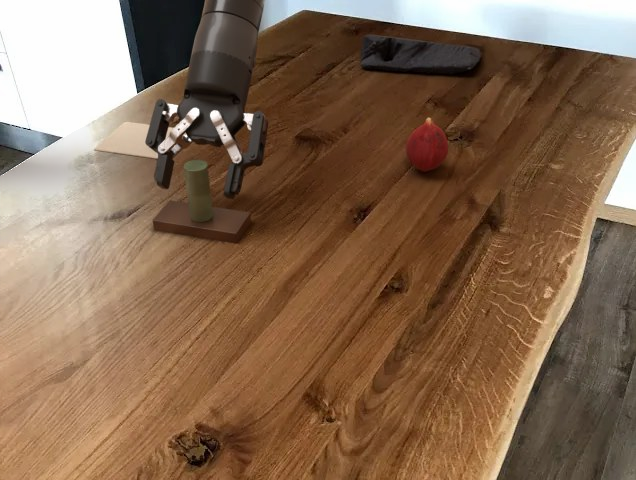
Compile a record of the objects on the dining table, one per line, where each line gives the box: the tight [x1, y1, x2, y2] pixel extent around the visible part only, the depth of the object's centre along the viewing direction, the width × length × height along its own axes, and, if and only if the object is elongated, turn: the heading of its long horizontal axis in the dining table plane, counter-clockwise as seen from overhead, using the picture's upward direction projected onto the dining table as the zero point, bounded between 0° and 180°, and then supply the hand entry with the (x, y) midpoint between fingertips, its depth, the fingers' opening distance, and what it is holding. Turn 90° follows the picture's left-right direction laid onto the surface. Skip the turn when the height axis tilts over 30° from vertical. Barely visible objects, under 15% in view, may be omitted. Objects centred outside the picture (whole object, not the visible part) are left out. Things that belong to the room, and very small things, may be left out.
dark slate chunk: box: [359, 34, 482, 75], centre depth 136 cm, size 15×22×5 cm
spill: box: [93, 121, 186, 160], centre depth 112 cm, size 12×10×1 cm
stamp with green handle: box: [152, 159, 252, 244], centre depth 89 cm, size 11×5×10 cm, turn 74°
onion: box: [405, 117, 449, 173], centre depth 102 cm, size 6×6×8 cm
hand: (195, 192), depth 87 cm, fingers open, 8 cm apart
